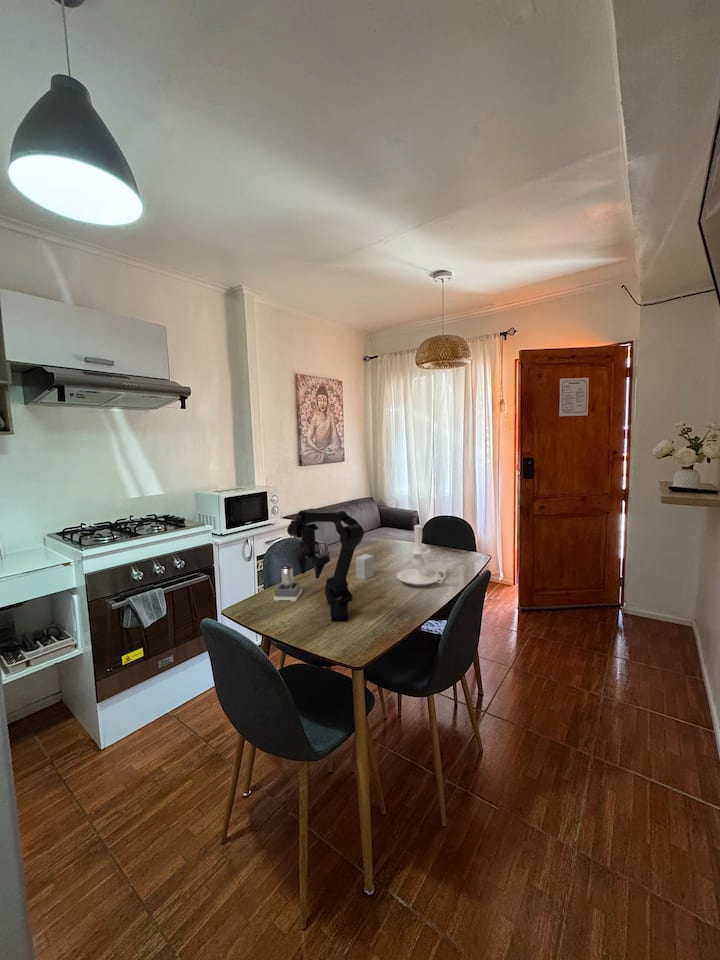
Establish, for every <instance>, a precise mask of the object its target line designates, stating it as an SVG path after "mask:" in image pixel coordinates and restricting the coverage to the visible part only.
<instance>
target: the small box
mask: <svg viewBox="0 0 720 960" xmlns="http://www.w3.org/2000/svg"><path fill="white" fill-rule="evenodd" d="M355 573H356V574H355V576H356V579H358V578H359V580H362V579H363V581H367V580H369V579H371V578H373V577H374V576H375V556H374V555H372V554H368V553H365V554H362V555H359V556H357V557H355Z"/></svg>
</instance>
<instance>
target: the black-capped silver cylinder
mask: <svg viewBox="0 0 720 960" xmlns="http://www.w3.org/2000/svg"><path fill="white" fill-rule="evenodd" d="M293 568H294V567H293V564H291V563H283V564H281V567H280V570H281V582H282V589H294V584H293V583H294V569H293Z"/></svg>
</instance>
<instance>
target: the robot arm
mask: <svg viewBox="0 0 720 960" xmlns="http://www.w3.org/2000/svg"><path fill="white" fill-rule="evenodd" d="M315 522H316V523H317V522H319V523H320V522H321V523H334V525H335V530H336V533H338V535H339V541H340V545H341V548H340V552H339V555H338V559H337V563H336V565H335V566H336V567H335V569H334V573H333V576H332V577H329V578H326V581H325V586H324V588H325V589H324V594H325V597H326V598H325V599H326V601H327V604H328V606H329V607H330V609H329V610H330V618H331V619H330V621H331V622H348V621H349V618H350V616H351V613H350V606H349V603H350V602H352V601H353V597H354V596H353V594H352V593H351V591H350V590H349V588H348V586H349V583H348V581H347V576H348V573H349V570H350V566H351V563H352V559H353V556H354V553H355V549H356V548H357V546H358V545H359V544H360V543H361V541H362V540H363V538H364V535H365V531H364V528H363V527H362V525H360V523H359V522H358V521H357V520H356V519H355V518H353V517H352V516H350V515H348V513H347V512H346V511H345V510H338V511H337V510H336V511H333V510H332V511H331V510H330V511H325V510H322V511H320V510H319V509H316V508H306V509H302V510H299V511H298V514H297V515H296V518H295V519H293V520H290V524H289V525H288V526H287V530H286V531H287V534H288V535H289V536H291V537H295V538H299V539H300V538H301V539H300V540H301V541H300V542H299V543H298V547H295V548H294V549H292V550H291V551H290V552H289V557H290V558H291V561H292V562H296V563H297V564H298V567H299V570H300V572H301V574H302V575H305V573H306V567H307V559H310V560H311V563H312V564H311V566H313V567H314V574H315V579H316V580H318V579H319V578H320V576H321V574H322V571H323V569H324V567H325V566H326V565H327V564H328V563H330V556H328V555H327V554H324V553H320V554H319V550H317V546H316V545H318V544H319V541H317V540H316V531H317V530H319V527H318V525H316V523H315ZM342 522H343V523H344V524H346V525H347V526H344V525H343V524H342Z"/></svg>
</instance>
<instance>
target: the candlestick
mask: <svg viewBox="0 0 720 960" xmlns="http://www.w3.org/2000/svg"><path fill="white" fill-rule="evenodd" d="M413 529H414V530H413V531H414V532H413V533H414V546H412V547H408V548H407V549H406V550H405V551H406V552H407V553H409V554H412V555H414V557H413V559H412V565H413V567H414V568H408V569H403V570H401V571H399V572H397V574H396V577H397V578H398V580H400V581H402V582H404V583H406V584H408V585H412V586H419V587H421V586H428V585H432V584H433V583H436V584H437V583H438V584H442V583H443V581H444V580H445V578H447V574H446V572H448V570H447V569H442V568H440V569H438V570H436V571H435V570H433V569H430V568H429V569H427V568H423V567H424V566H425V565H426V563H425V558H424V557H423V555H424V554H428V553H430V552H431V551H432V550H431V549H430V548H428V547H424V546H422V545H423V544H422V540H423V526H422V525H421V524H414V527H413ZM439 572H442V573H443V577H442V576H441V574H440V573H439Z"/></svg>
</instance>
